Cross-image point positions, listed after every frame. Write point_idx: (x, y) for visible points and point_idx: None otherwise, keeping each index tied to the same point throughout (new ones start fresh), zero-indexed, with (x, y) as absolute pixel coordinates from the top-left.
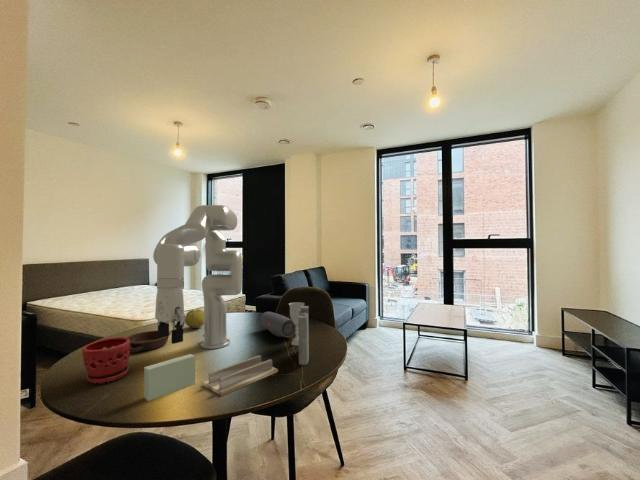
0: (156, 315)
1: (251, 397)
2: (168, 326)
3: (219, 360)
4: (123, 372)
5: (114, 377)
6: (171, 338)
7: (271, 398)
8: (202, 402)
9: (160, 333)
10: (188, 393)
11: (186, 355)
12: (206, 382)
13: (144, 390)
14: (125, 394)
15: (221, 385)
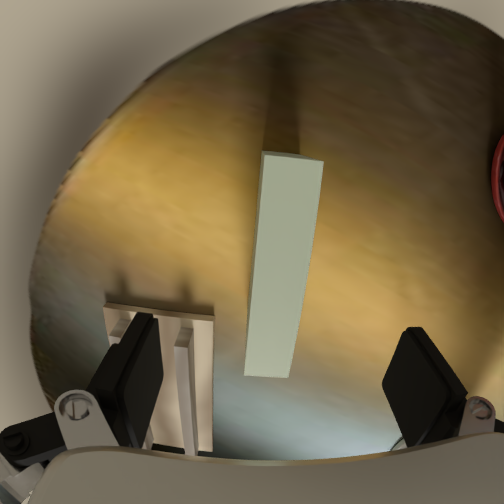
0: (498, 474)
1: (59, 331)
2: (404, 435)
3: (333, 419)
4: (499, 201)
5: (494, 168)
6: (139, 334)
7: (36, 344)
8: (111, 251)
9: (413, 356)
10: (198, 259)
11: (287, 360)
12: (199, 325)
13: (302, 155)
14: (381, 133)
15: (115, 325)
